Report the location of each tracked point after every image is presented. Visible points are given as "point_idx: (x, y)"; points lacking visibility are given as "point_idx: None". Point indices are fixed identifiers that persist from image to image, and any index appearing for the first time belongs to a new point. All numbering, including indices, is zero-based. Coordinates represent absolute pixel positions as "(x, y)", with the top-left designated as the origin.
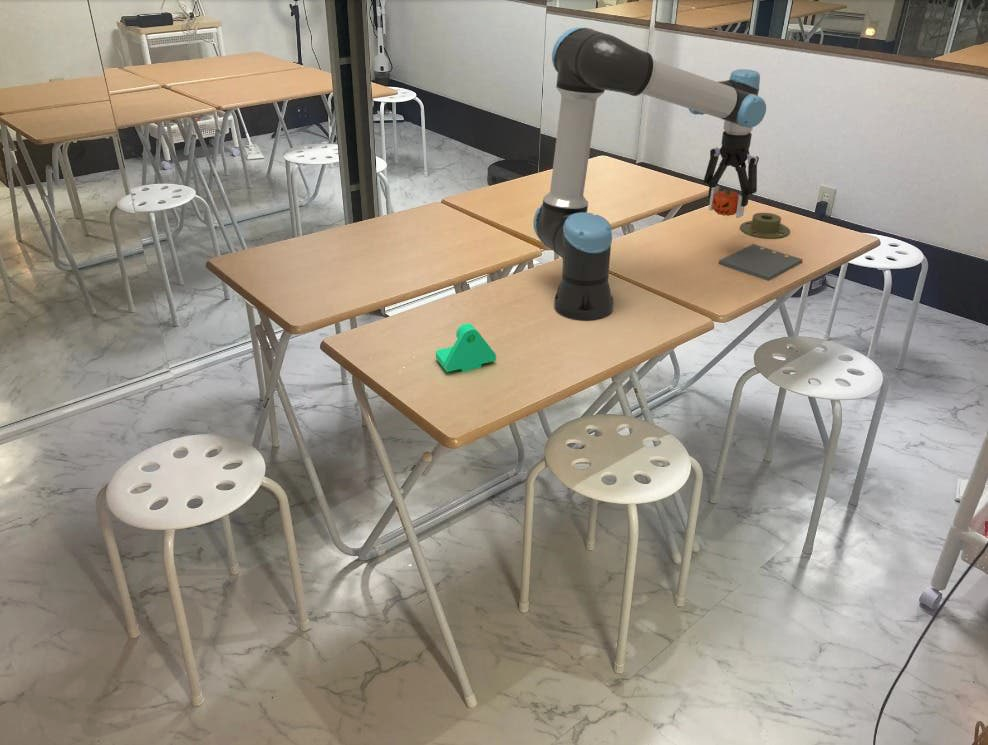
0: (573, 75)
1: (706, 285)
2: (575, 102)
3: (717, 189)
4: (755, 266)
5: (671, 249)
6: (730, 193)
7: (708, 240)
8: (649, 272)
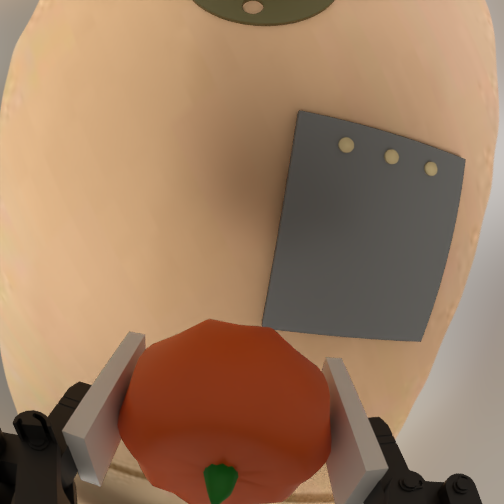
0: None
1: None
2: None
3: (97, 436)
4: (375, 301)
5: (95, 302)
6: (235, 464)
7: (139, 153)
8: None
